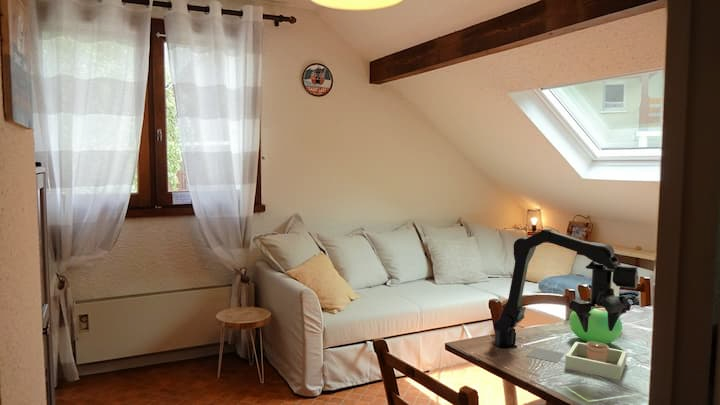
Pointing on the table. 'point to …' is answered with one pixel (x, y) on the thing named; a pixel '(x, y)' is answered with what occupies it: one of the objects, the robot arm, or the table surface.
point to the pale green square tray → (596, 362)
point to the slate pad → (545, 355)
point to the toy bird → (596, 327)
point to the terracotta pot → (597, 351)
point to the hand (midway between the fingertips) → (598, 331)
